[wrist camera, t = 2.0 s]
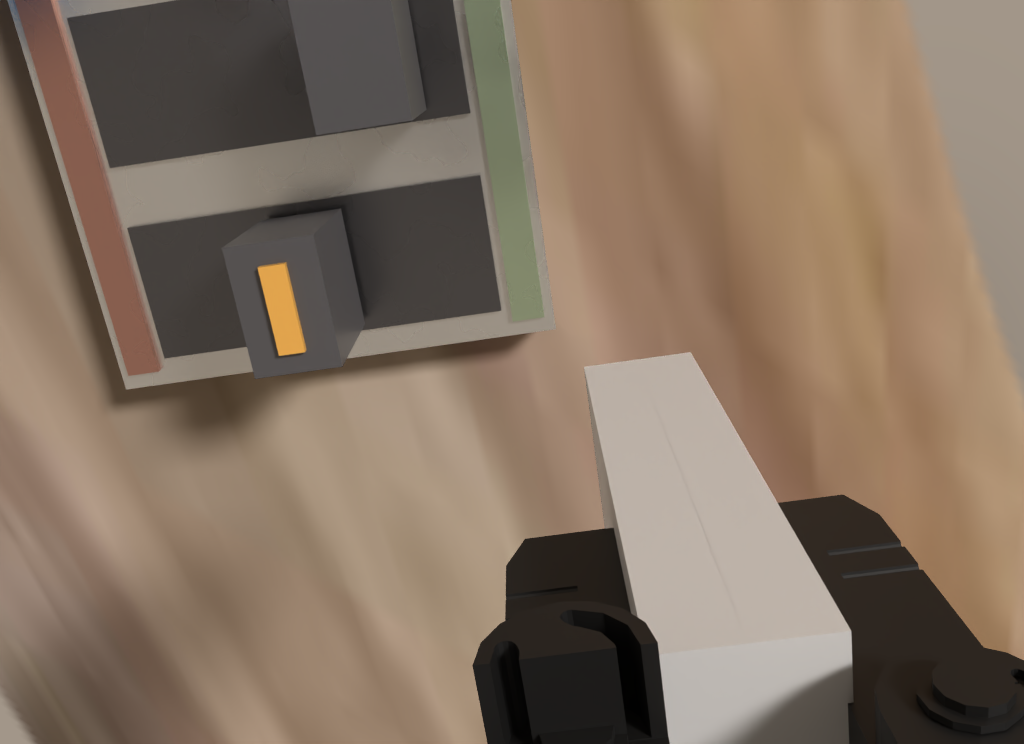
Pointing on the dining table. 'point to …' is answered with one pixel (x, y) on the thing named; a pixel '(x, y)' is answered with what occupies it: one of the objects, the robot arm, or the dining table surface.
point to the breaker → (358, 62)
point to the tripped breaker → (295, 293)
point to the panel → (284, 174)
